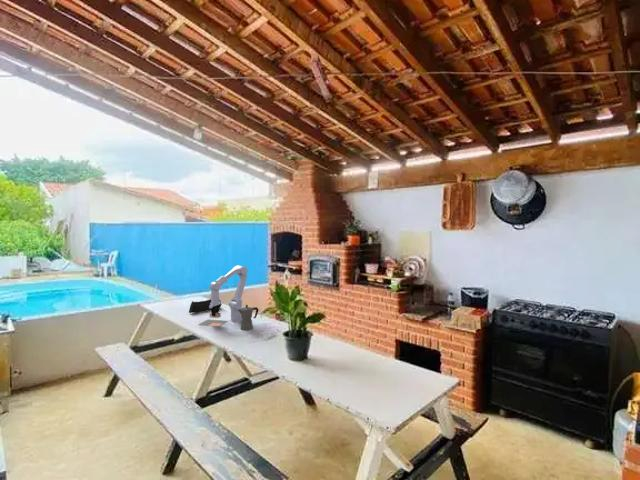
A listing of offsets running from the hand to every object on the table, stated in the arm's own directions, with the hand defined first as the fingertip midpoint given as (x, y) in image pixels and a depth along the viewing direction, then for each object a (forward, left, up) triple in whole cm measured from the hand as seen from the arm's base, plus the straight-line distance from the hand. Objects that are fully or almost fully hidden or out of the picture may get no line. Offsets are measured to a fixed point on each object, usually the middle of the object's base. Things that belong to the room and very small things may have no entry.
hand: (215, 315), depth 277 cm
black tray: (+29, -37, -8) cm, 48 cm away
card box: (0, 0, -1) cm, 1 cm away
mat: (+3, -4, -8) cm, 9 cm away
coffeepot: (-28, +1, -8) cm, 29 cm away
